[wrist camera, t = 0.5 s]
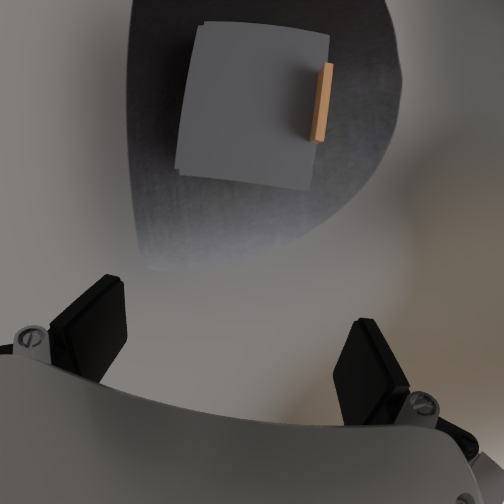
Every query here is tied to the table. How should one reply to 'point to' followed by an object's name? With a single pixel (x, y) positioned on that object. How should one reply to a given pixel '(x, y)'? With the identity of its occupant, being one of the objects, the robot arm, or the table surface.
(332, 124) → the table surface
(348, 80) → the table surface
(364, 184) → the table surface
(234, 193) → the table surface
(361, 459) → the robot arm
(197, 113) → the lid
